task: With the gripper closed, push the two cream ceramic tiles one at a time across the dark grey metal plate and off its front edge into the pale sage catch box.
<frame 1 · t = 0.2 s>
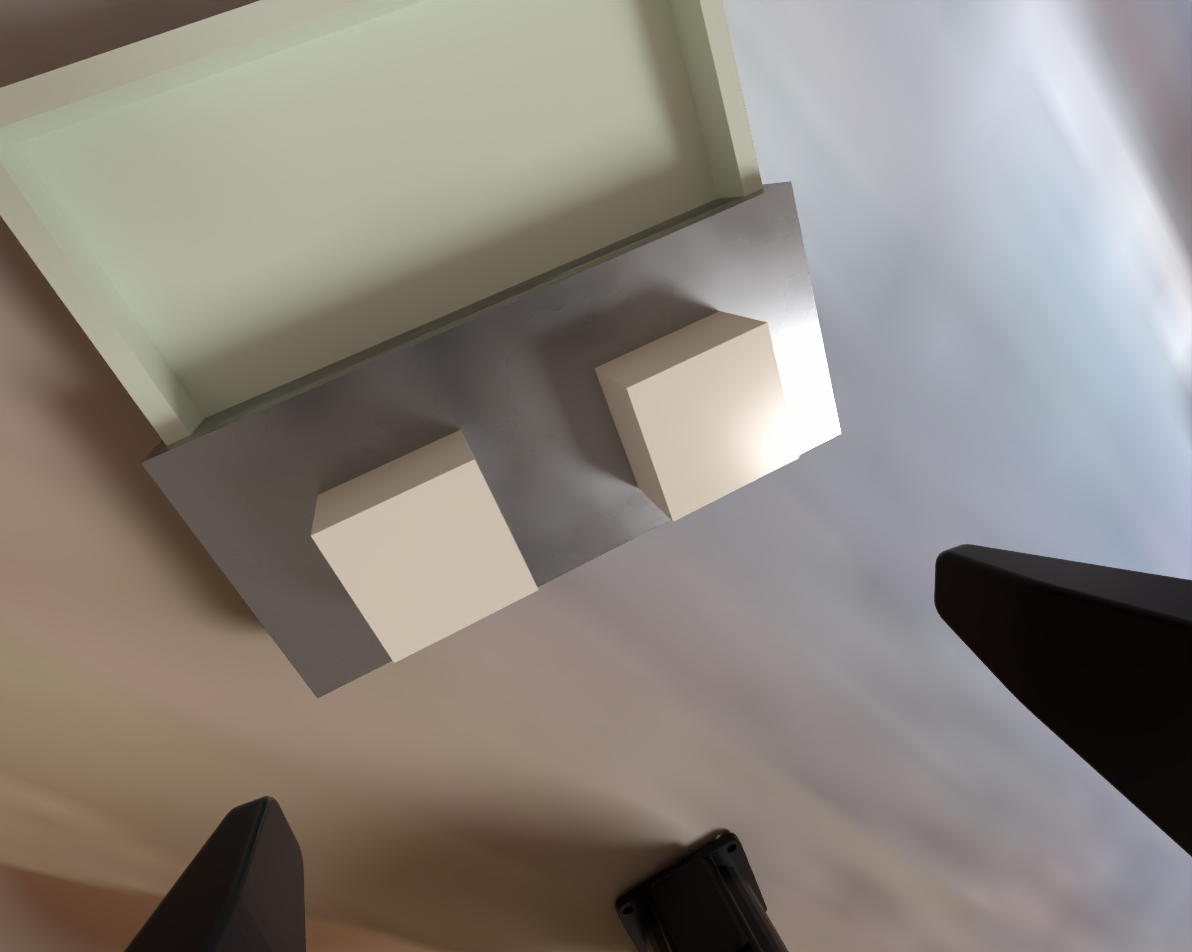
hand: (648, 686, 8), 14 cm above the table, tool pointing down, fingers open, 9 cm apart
catch box: (420, 176, 18), on the table
plate: (525, 418, 21), on the table
tile b: (424, 523, 18), point 3 cm above the table, touching plate
tile a: (678, 402, 19), point 3 cm above the table, touching plate
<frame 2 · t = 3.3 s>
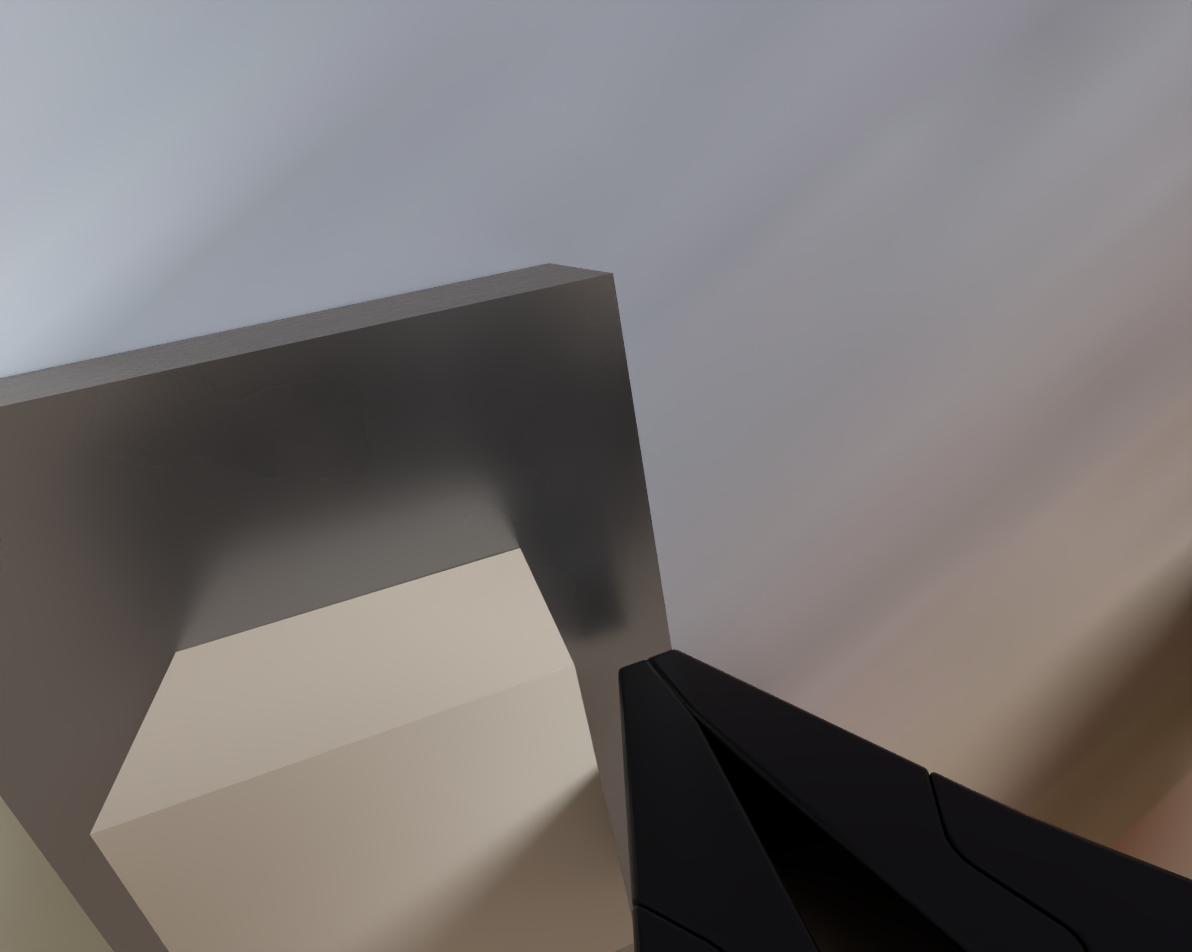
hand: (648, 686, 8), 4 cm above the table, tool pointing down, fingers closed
catch box: (6, 947, 11), on the table
plate: (444, 782, 13), on the table
tile a: (404, 724, 9), point 3 cm above the table, touching gripper, plate
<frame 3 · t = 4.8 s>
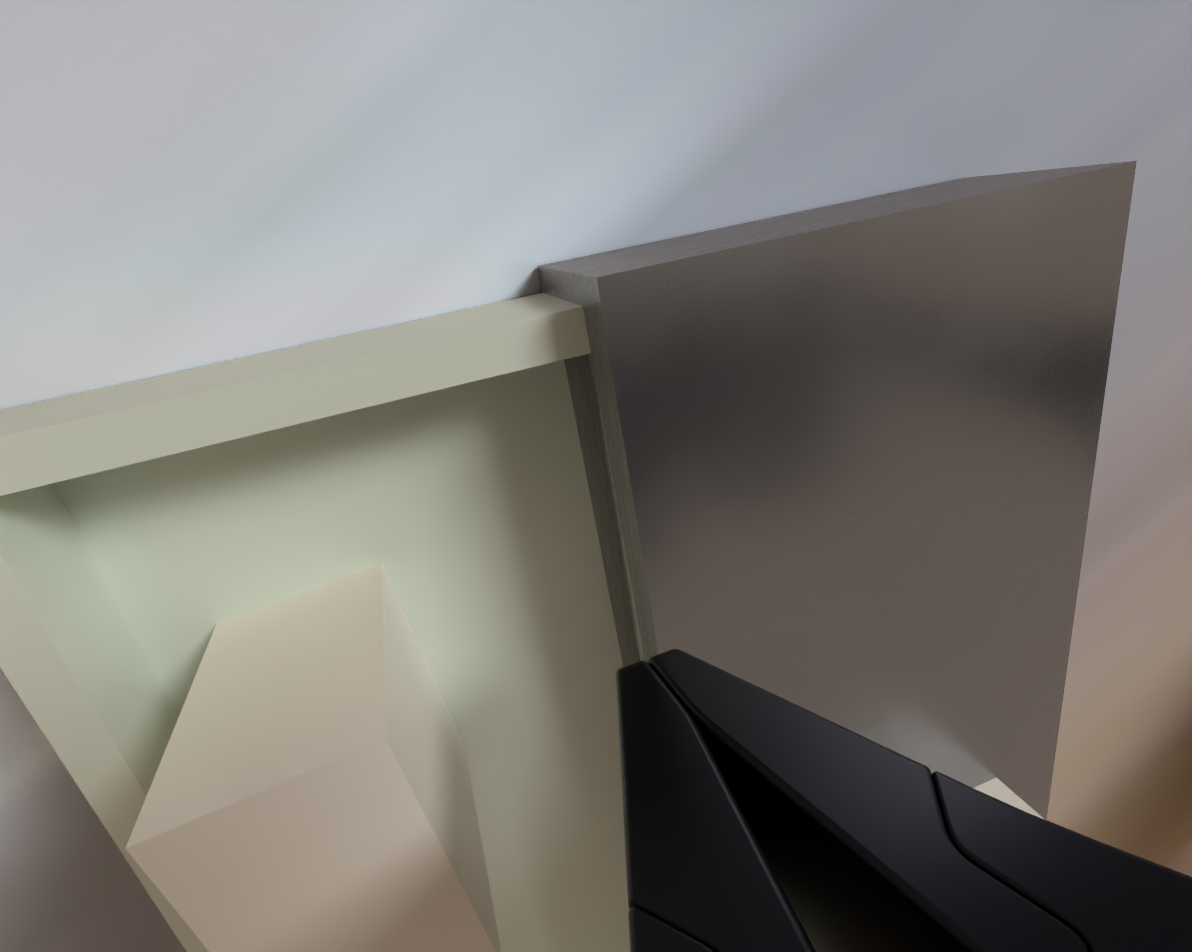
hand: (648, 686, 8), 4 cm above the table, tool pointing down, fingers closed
catch box: (459, 778, 13), on the table
plate: (795, 652, 14), on the table
tile b: (910, 885, 13), point 3 cm above the table, touching plate
tile a: (436, 743, 9), point 3 cm above the table, tilted 90°, touching catch box
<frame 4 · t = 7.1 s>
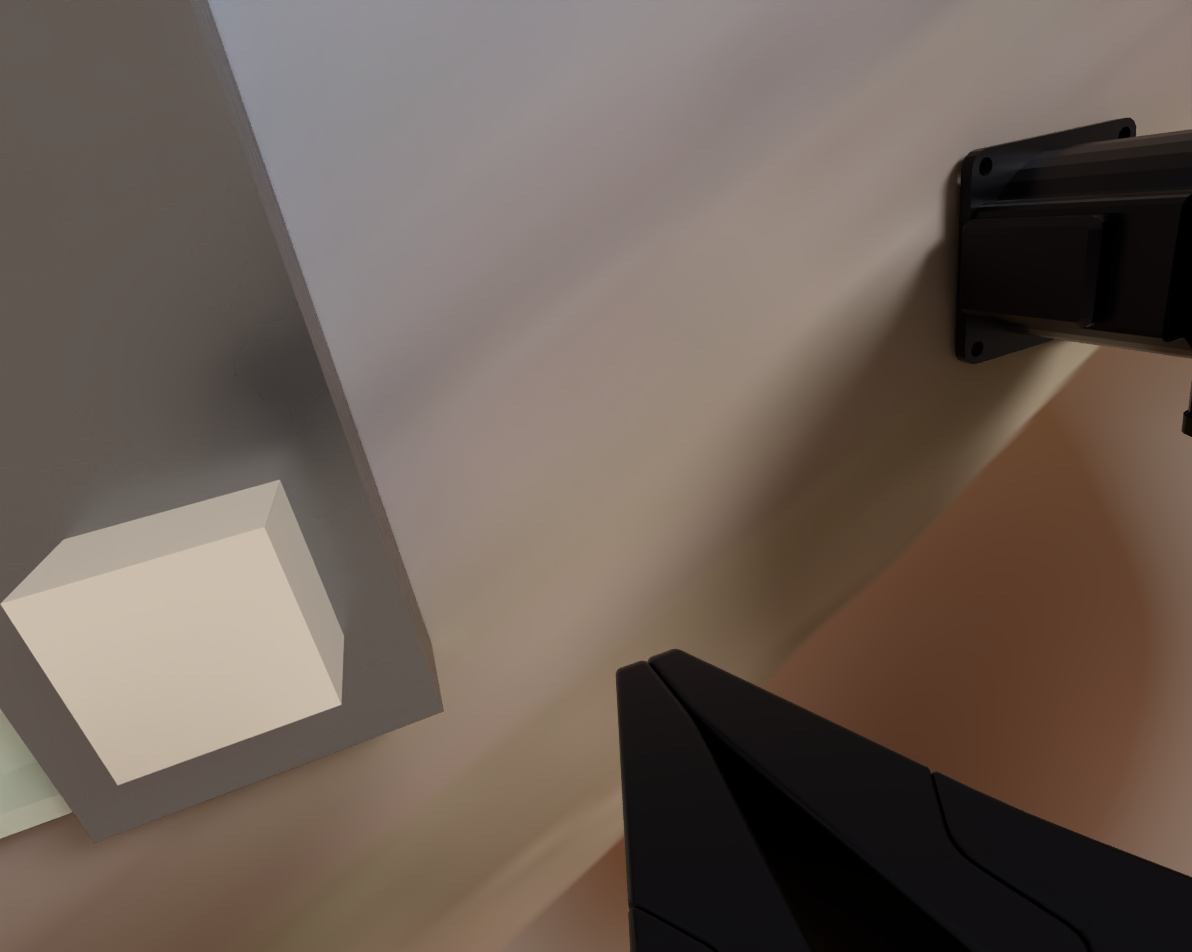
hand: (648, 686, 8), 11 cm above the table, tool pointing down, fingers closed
plate: (146, 388, 15), on the table
tile b: (216, 592, 14), point 3 cm above the table, touching plate
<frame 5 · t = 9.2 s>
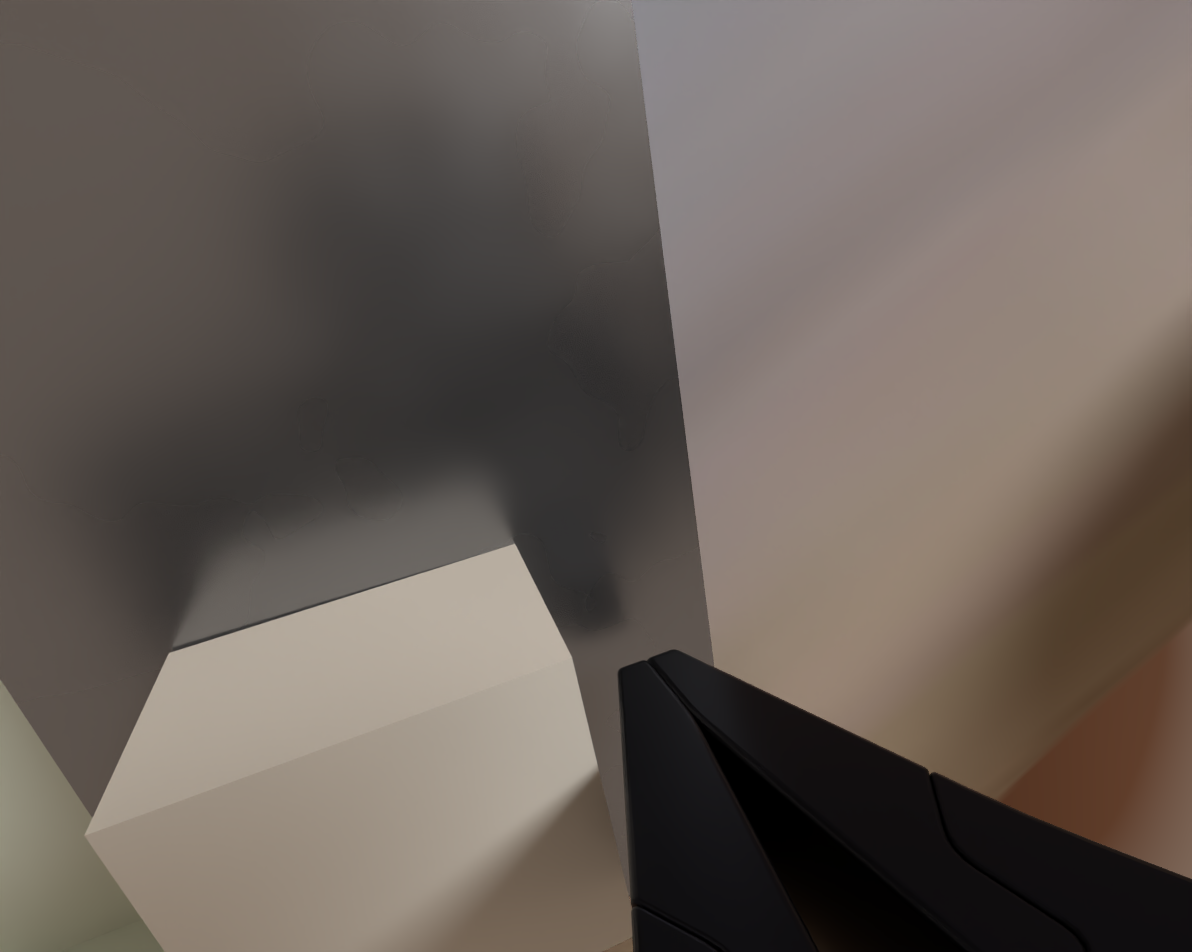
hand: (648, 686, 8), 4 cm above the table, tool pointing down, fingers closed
plate: (345, 372, 10), on the table
tile b: (401, 723, 9), point 3 cm above the table, touching gripper
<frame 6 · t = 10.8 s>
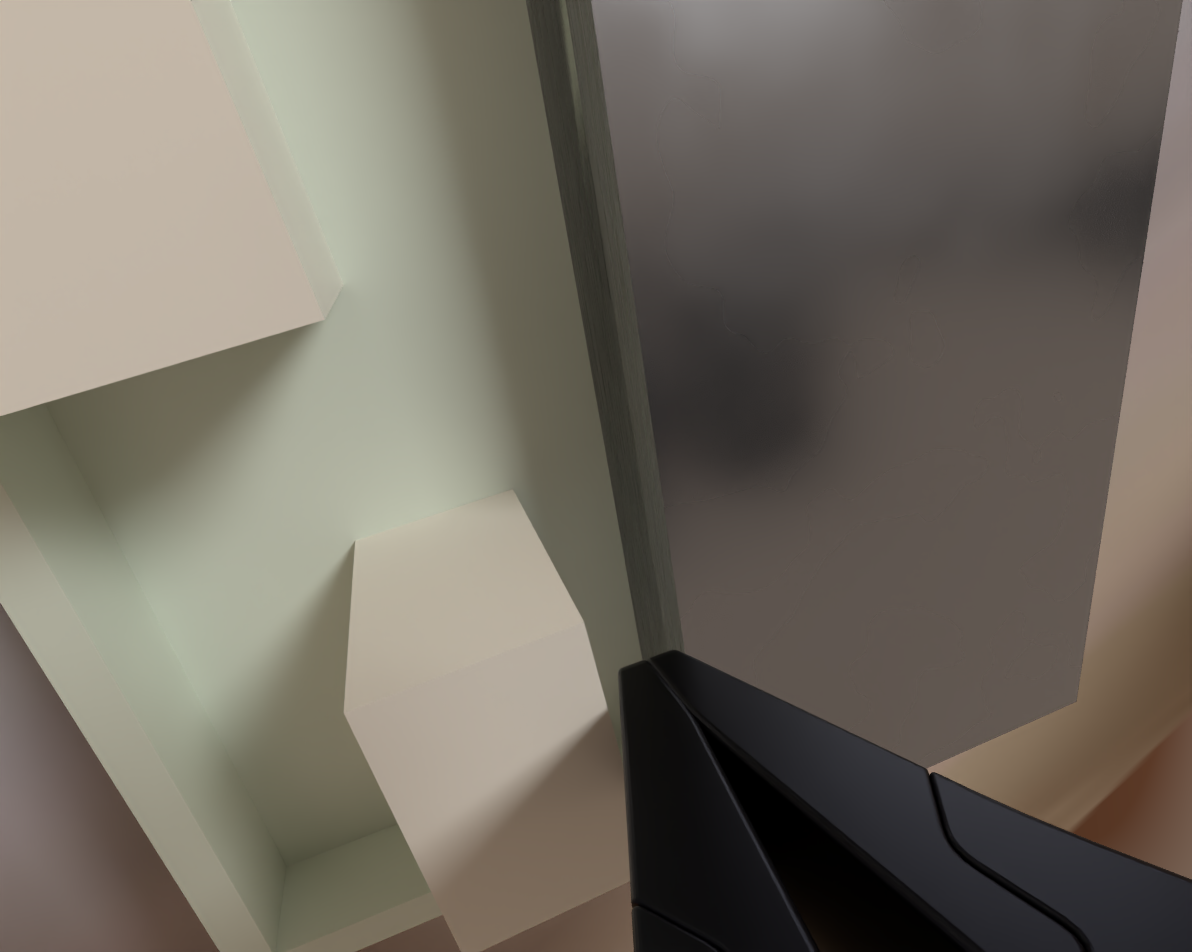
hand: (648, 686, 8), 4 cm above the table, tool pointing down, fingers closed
catch box: (347, 371, 10), on the table
plate: (791, 269, 11), on the table
tile b: (575, 659, 9), point 3 cm above the table, tilted 90°, touching catch box, gripper
tile a: (250, 86, 6), point 3 cm above the table, tilted 90°, touching catch box
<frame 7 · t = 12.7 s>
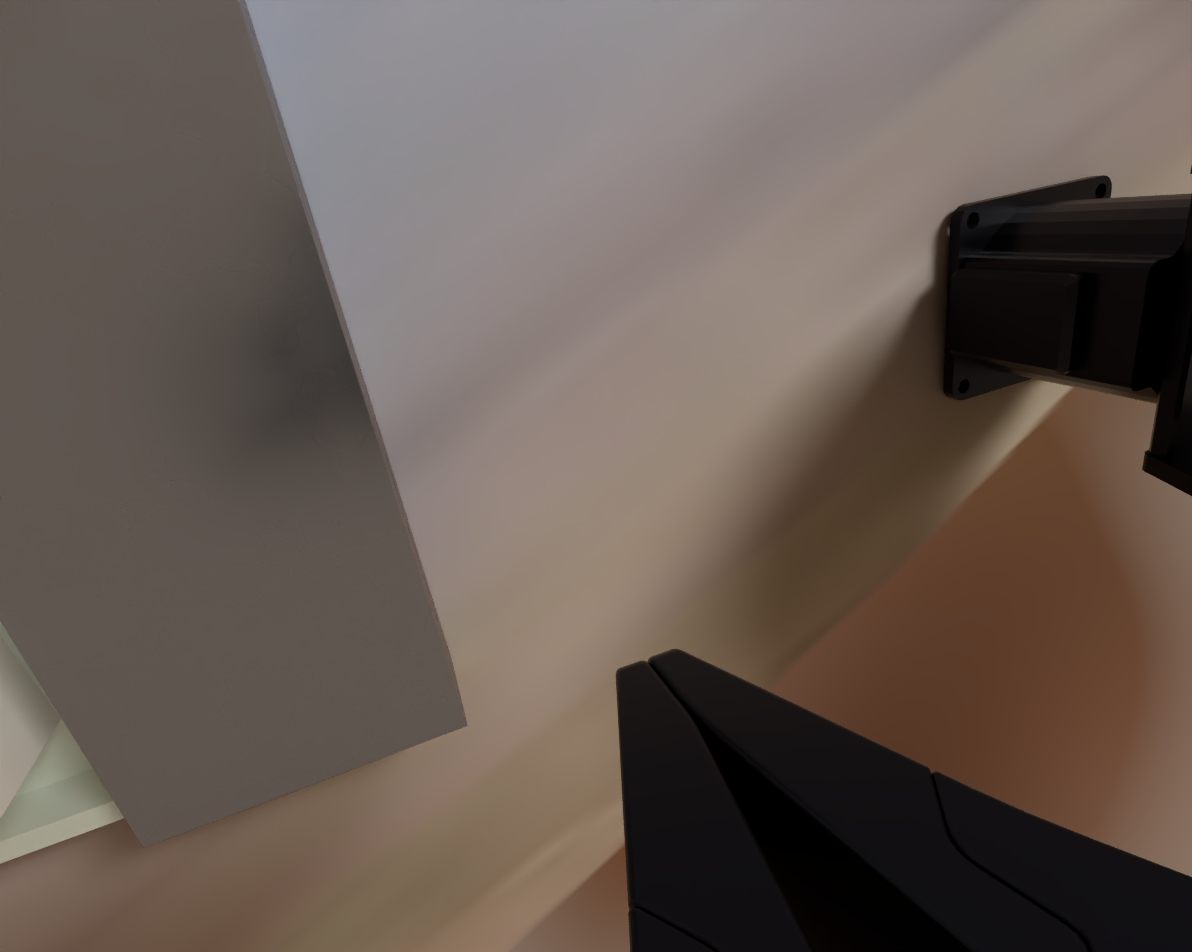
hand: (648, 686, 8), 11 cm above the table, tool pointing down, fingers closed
plate: (198, 424, 16), on the table
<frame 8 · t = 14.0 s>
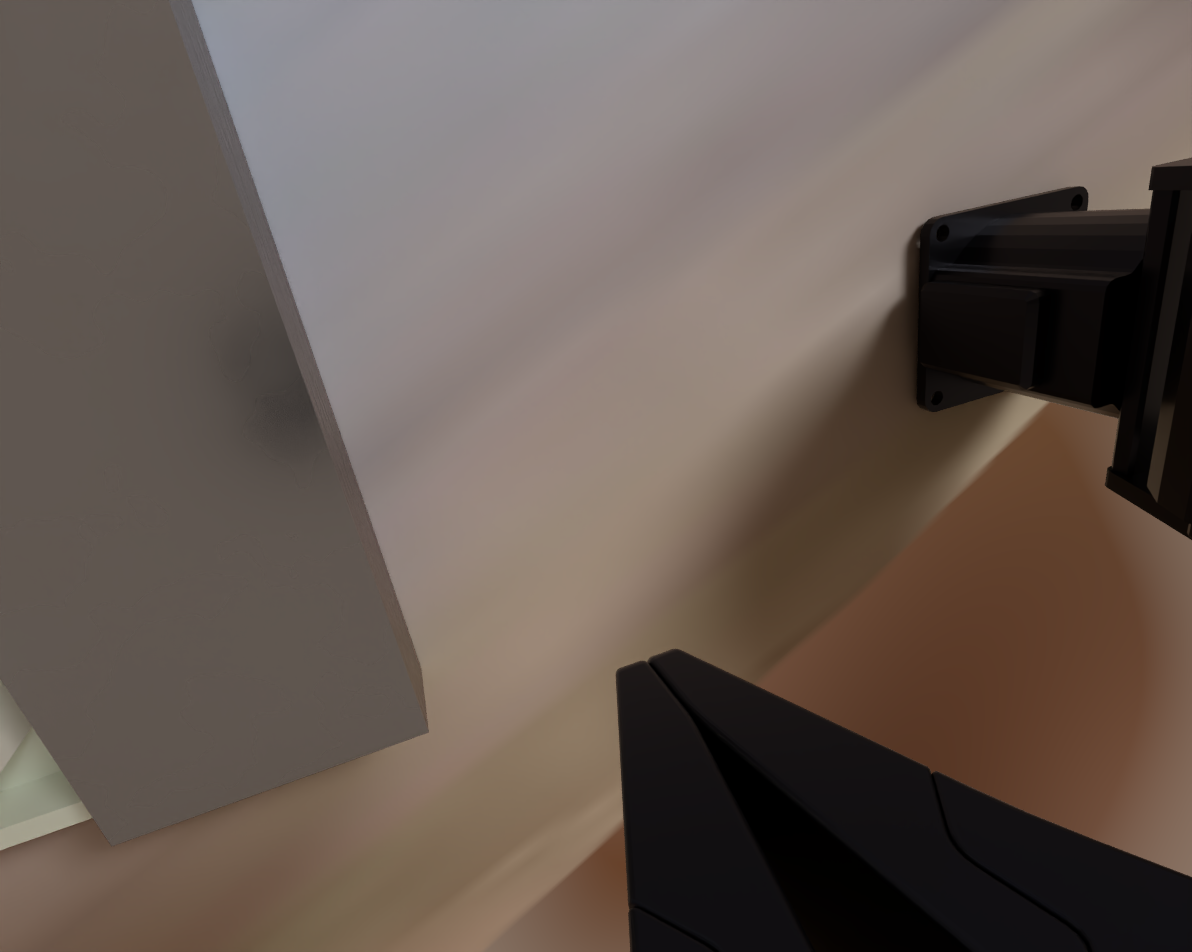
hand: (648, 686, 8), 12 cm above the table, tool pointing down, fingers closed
plate: (165, 438, 17), on the table
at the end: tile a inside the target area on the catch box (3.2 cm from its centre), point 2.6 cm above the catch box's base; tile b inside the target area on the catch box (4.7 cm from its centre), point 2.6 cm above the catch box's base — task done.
